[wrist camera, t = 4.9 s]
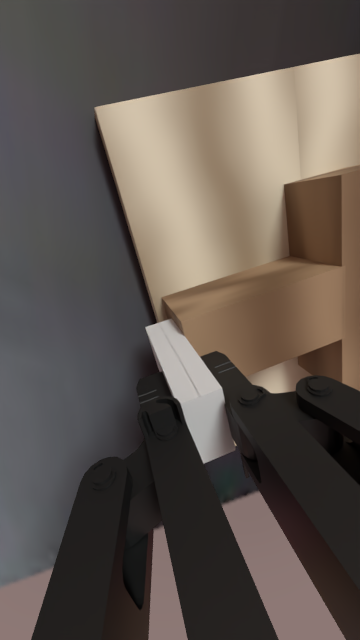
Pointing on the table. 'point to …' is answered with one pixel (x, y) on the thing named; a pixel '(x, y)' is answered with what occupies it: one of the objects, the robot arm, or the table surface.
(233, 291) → the t block
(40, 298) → the table surface
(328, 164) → the board
